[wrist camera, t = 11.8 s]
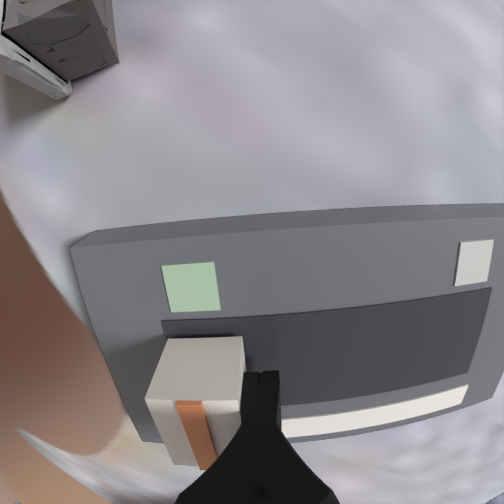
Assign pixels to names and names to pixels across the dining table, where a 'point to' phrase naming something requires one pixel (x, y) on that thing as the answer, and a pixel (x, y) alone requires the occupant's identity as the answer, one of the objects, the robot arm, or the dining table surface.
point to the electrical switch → (55, 42)
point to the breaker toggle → (197, 397)
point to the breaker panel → (312, 308)
